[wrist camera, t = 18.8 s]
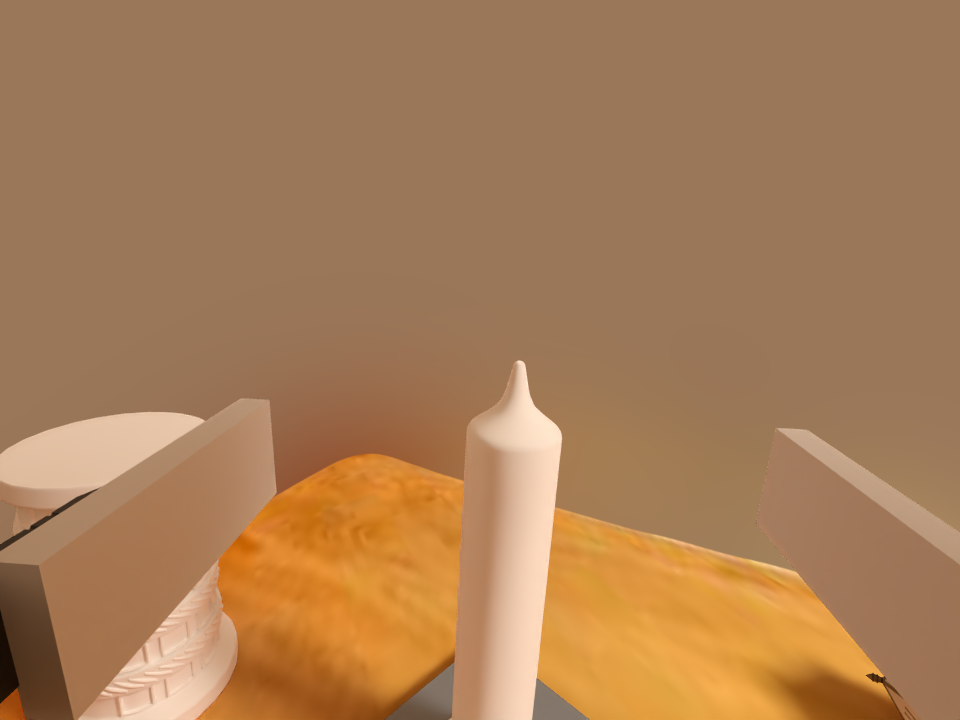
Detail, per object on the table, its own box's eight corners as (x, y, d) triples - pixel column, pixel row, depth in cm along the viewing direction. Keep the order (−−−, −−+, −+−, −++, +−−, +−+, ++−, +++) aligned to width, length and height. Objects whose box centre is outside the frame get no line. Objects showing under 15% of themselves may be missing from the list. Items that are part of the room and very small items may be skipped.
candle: (401, 774, 28) (409, 357, 22) (481, 693, 34) (506, 337, 27) (495, 880, 24) (539, 397, 18) (570, 769, 29) (626, 364, 23)
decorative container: (264, 618, 41) (250, 414, 36) (181, 767, 29) (145, 497, 25) (123, 612, 40) (91, 406, 36) (-15, 758, 29) (-88, 485, 25)
